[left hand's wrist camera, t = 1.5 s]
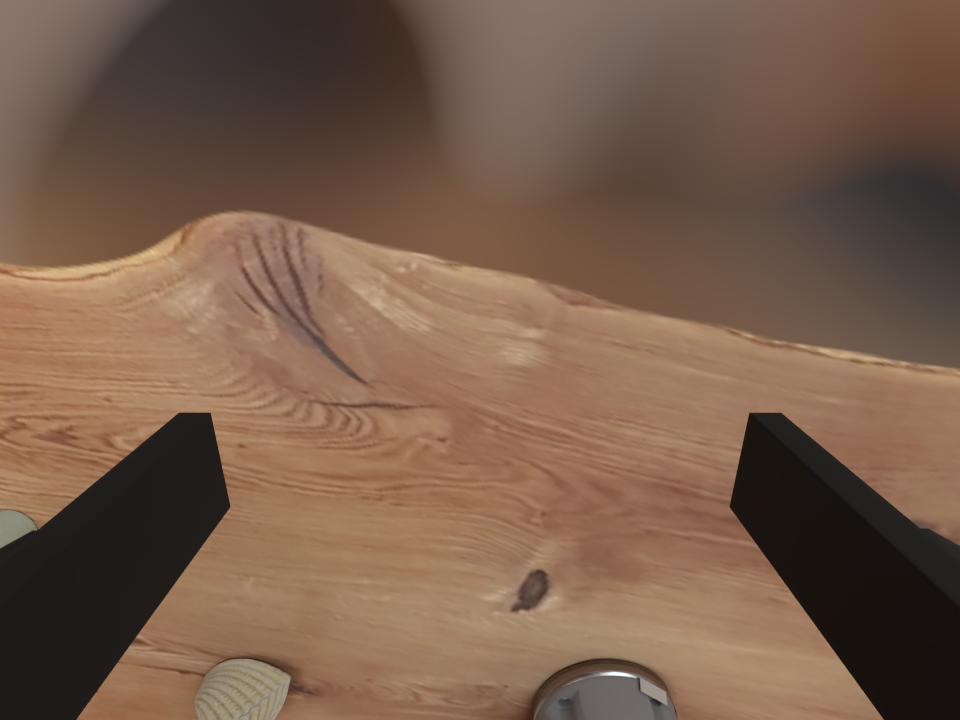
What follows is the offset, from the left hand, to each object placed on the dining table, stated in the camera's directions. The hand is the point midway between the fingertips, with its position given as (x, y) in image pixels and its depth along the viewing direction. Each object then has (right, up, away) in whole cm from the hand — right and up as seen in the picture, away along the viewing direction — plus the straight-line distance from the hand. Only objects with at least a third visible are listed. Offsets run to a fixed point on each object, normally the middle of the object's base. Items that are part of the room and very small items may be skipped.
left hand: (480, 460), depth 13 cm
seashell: (-25, -32, +42) cm, 59 cm away
